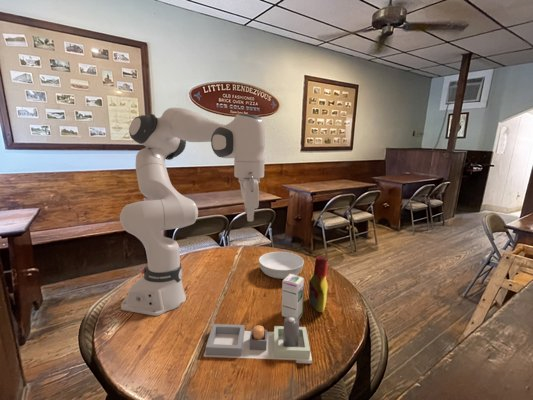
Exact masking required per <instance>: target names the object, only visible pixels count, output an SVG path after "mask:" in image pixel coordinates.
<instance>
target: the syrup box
mask: <svg viewBox="0 0 533 400" xmlns="http://www.w3.org/2000/svg"><path fill="white" fill-rule="evenodd" d="M281 284H282V285H281V287H282V288H281V290H282V291H281V316H282V317H283V318H286V317H288V316H293V317H296V318H298V320H299V321H300V319H301V318H302V316H303V315H304V296H305V294H304V293H305V292H304V291H305V290H304V288H305V277H303V276H300V275H299V274H297V275H294V274H289V275H288V276H287V277H286V278H285V279H283V280H282V282H281Z"/></svg>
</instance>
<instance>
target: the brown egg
mask: <svg viewBox="0 0 533 400" xmlns="http://www.w3.org/2000/svg"><path fill="white" fill-rule="evenodd" d="M264 330H265V328H264V326H263V325H260V324H259V325H255V326H254V327H253V339H254V340H264Z"/></svg>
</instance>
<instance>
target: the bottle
mask: <svg viewBox="0 0 533 400" xmlns="http://www.w3.org/2000/svg"><path fill="white" fill-rule="evenodd" d="M327 269H328V259H327V257H325V256H324V255H317V256H316V257H315V262H314V271H313V273H312V274H311V276H310V278H309V281H308V283H309V284H308V299H309V302H310V305H311V307H312V308H313V309H314V311H316V312H319V313H324V312H325V308H326V304H327V297H328V286H329V285H328V281H327Z"/></svg>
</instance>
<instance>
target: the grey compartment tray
mask: <svg viewBox="0 0 533 400" xmlns="http://www.w3.org/2000/svg"><path fill="white" fill-rule="evenodd" d="M245 326H246V325H245V324H227V323H226V324H225V323H224V324H223V323H221V324H220V323H213V324H212V327H211V329H210V333H209V335H208V339H207V342H206V345H205V351H204V352H203V357H205V358H229V359H230V358H231V359H252V360H253V359H254V360H256V359H257V360H283V361H284V360H287V361H295V363H296V364H308V365H309V364H310V365H311V364H312V363H313V357H312V353H311V346H310V342H309V336H308V331H307V327H306V326H299V336H298V347H283V332H284V325H283V326H282V325H274V326H273V328H274V329H273V331H268V329H264V340H254V339H253V329H252V328H251V329H250V330H245Z"/></svg>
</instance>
